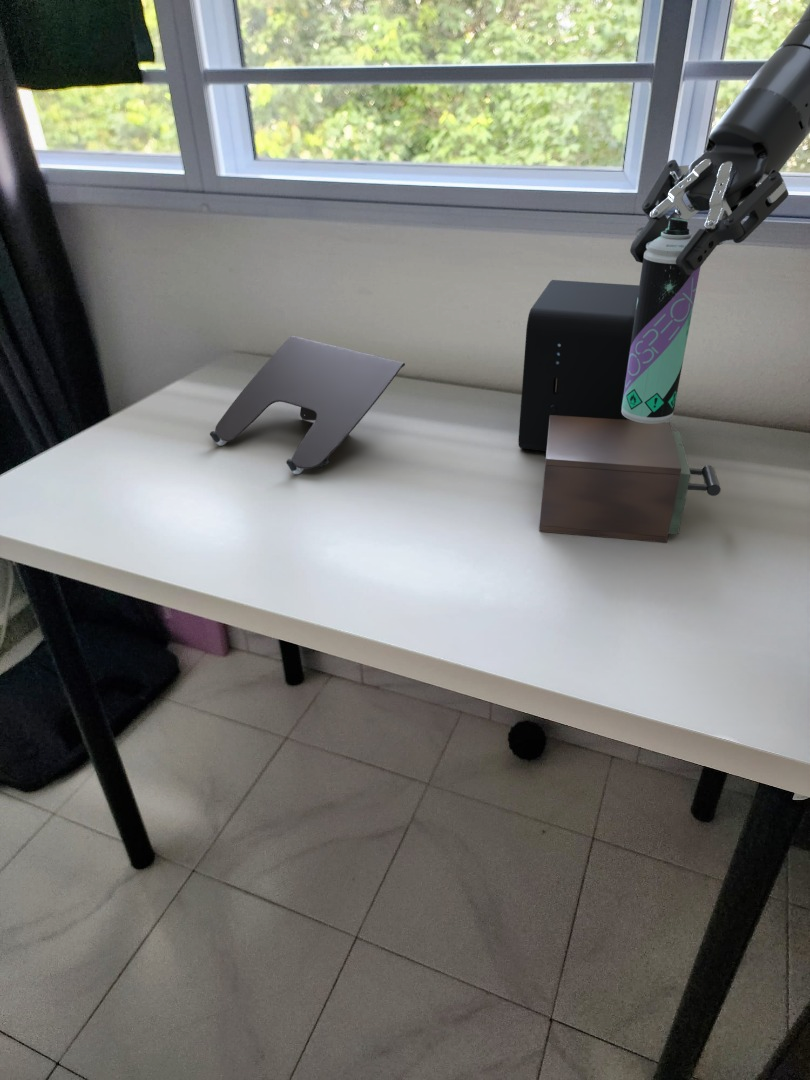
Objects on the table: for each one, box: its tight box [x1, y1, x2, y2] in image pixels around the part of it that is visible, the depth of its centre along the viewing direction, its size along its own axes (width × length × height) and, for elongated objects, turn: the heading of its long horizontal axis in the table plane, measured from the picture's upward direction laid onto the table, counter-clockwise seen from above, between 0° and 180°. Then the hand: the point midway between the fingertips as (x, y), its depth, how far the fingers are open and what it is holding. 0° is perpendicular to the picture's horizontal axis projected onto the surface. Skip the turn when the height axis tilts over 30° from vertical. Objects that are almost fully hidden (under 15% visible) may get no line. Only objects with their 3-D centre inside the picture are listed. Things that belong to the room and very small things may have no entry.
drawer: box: [668, 430, 722, 535], centre depth 90 cm, size 18×11×8 cm, turn 79°
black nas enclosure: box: [517, 279, 639, 452], centre depth 107 cm, size 20×15×20 cm
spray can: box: [621, 218, 701, 424], centre depth 77 cm, size 6×6×20 cm
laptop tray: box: [209, 335, 406, 475], centre depth 112 cm, size 23×23×9 cm
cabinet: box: [538, 415, 681, 543], centre depth 90 cm, size 15×13×10 cm
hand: (658, 262), depth 73 cm, fingers closed on spray can, 5 cm apart
